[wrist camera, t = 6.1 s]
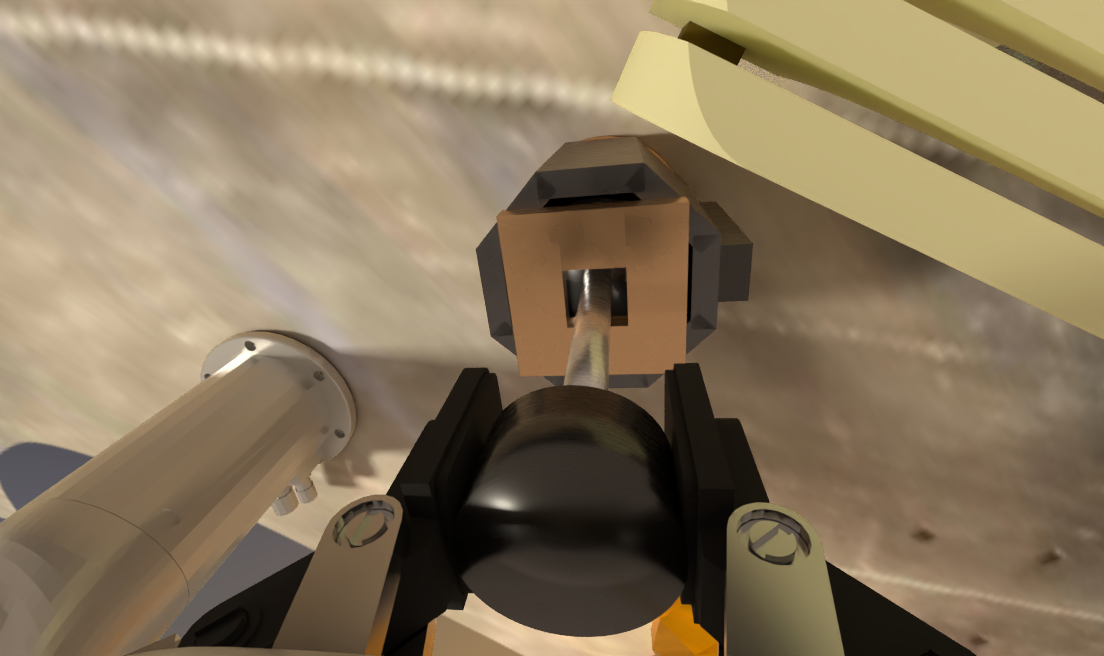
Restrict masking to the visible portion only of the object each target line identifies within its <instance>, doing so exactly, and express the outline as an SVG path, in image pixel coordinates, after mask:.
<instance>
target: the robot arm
mask: <svg viewBox="0 0 1104 656" xmlns="http://www.w3.org/2000/svg"><path fill="white" fill-rule="evenodd" d="M502 411H503V409H502V403H501V398H500V392H499V386H498V380H497V376H496V374H495V373H489V370H488V369H487V368H464V369H463V371H462V373H461V374H460V376H459V378H458V380H457V382H456V383H455V385H454V387H453V389H452V390H451V392H450V394H449V396H448V398H447V399H446V401H445V403H444V405H443V407H442V408H441V410H440V412H439V414H438V416H437V417H436V419H435V420H431V421H429V422H428V423H427V425H426V426H425V428H424V430H423V431H422V433H421V435H420V437H419V438H418V440H417V442H416V443H415V445H414V447H413V449H412V450H411V452H410V454H409V456H408V457H407V459H406V461H405V463H404V464H403V466H402V468H401V469H400V471H399V473H398V475H397V476H396V478H395V480H394V482H393V483H392V485H391V487H390V489H389V490H388V492H387V494H386V495H371V496H367V497H363V498H360V499H358V500H356V501H353V502H351V503H350V504H348V505H347V506H345V507H344V508H342V509H341V510H340V511H339V512H338V513H337V514H336V515H335V516H334V517H333V518H332V519H331V520H330V522H329V524H328V525H327V527H326V529H325V531H324V533H323V535H322V537H321V540H320V542H319V544H318V546H317V549H316V551H314V552H313V553H311V554H309V555H307V556H305V557H304V558H302V559H300V560H298V561H297V562H295V563H293V564H291V565H289V566H287V567H286V568H284V569H282V570H280V571H278V572H276V573H275V574H273V575H271V576H269V577H267V578H266V579H264V580H262V581H260V582H258V583H257V584H255V585H253V586H251V587H249V588H248V589H246V590H244V591H242V592H241V593H239V594H237V595H235V596H233V597H232V598H230V599H228V600H226V601H224V602H222V603H220V604H219V605H217V606H216V607H214V608H213V609H211V610H210V611H208V612H207V613H205V614H204V615H203V616H202V617H201V618H200V619H199V620H198V621H196V622H195V623H194V624H193V625H192V626H191V628H190V629H189V630H188V631H187V633H186V634H185V635H184V636H183V638H182V639H180V637H179V636H178V634H177V633H175V634H173V635H171V636H169V637H166V638H164V639H161V640H159V641H158V639H159V638H160V637H161V636H162V635H163V633H164V632H165V631H166V630H167V629H168V627H169V626H170V625H171V624H172V623H173V621H174V620H175V619H176V618H177V617H178V615H179V614H180V613H181V612H182V610H183V609H184V608H185V607H186V606H187V605H188V603H189V602H190V601H191V600H192V599H193V598H194V596H195V595H196V594H197V593H198V592H199V590H200V589H201V588H202V587H203V586H204V584H205V583H206V582H207V581H208V580H209V578H210V577H211V576H212V575H213V574H214V572H215V571H216V570H217V569H218V568H219V567H220V565H221V564H222V563H223V562H224V561H225V559H226V558H227V557H228V556H229V555H230V553H231V552H232V551H233V550H234V549H235V547H236V546H237V545H238V544H239V543H240V541H241V540H242V539H243V537H245V536H246V534H247V533H248V532H249V531H250V530H251V528H252V527H253V526H254V525H255V524H256V522H257V521H258V520H259V519H260V518H261V516H262V515H263V514H264V513H265V512H266V511H267V509H268V508H269V507H270V506H272V508H273V510H274V512H275V514H276V515H279V516H282V515H287V514H289V513H290V512H292V511H294V510H295V509H296V508H297V506H298V504H299V502H298V499H297V497H296V494H295V492H294V490H293V488H292V485H295V487H296V492H297V494H298V496H299V499H300V501H301V503H309V502H311V501H313V500H314V499H315V498H316V497H317V495H318V494H317V491H316V489H315V487H314V484H313V482H312V481H311V479H310V477H309V476H310V475H311V472H312V471H313V469H314V468H315V467H316V466H317V464H320V463H323V462H326V461H328V460H330V459H332V458H333V457H335V456H337V455H338V454H339V453H340V452H341V451H342V450H343V449H344V447H345V446H346V444H347V443H348V442H349V440H350V439H351V437H352V435H353V432H354V430H355V424H356V410H355V404H354V401H353V398H352V395H351V392H350V390H349V388H348V387H347V385H346V383H345V381H344V380H343V378H342V377H341V376H340V374H339V373H338V372H337V371H336V369H335V368H334V367H333V366H332V365H331V364H330V363H329V362H328V361H327V360H326V359H325V358H324V357H322V356H321V355H320V354H318V353H317V352H315V351H314V350H313V349H311V348H310V347H308V346H306V345H304V344H302V343H300V342H299V341H297V340H294V339H292V338H289V337H286V336H283V335H280V334H275V333H270V332H253V331H251V332H246V333H240V334H237V335H235V336H232V337H230V338H228V339H226V340H225V341H223V342H222V343H220V344H219V345H217V346H216V347H214V348H213V350H212V351H211V352H210V353H209V354H208V355H207V357H206V359H205V361H204V363H203V366H202V370H201V383H200V384H198V385H197V386H195V387H194V388H193V389H191V390H190V391H188V392H187V393H185V394H184V395H183V396H181V397H180V398H178V399H177V400H175V401H174V402H172V403H171V404H170V405H168V406H167V407H165V408H164V409H162V410H161V411H160V412H158V413H157V414H155V415H154V416H152V417H151V418H150V419H148V420H147V421H145V422H144V423H142V424H141V425H140V426H138V427H137V428H135V429H134V430H132V431H131V432H130V433H128V434H127V435H125V436H124V437H122V438H121V439H120V440H118V441H117V442H115V443H114V444H112V445H111V446H110V447H108V448H107V449H105V450H104V451H102V452H101V453H100V454H98V455H97V456H95V457H94V458H92V459H91V460H89V461H88V462H87V463H85V464H84V465H82V466H81V467H79V468H78V469H77V470H75V471H74V472H72V473H71V474H70V475H68V476H67V477H65V478H64V479H62V480H61V481H59V482H58V483H57V484H55V485H54V486H52V487H51V488H49V489H48V490H47V491H45V492H44V493H42V494H41V495H39V496H38V497H37V498H35V499H34V500H32V501H31V502H29V503H28V504H27V505H25V506H24V507H22V508H21V509H19V510H18V511H16V512H15V513H14V514H12V515H11V516H10V517H8V518H7V519H5V520H4V521H3V522H2V523H0V656H432V653H433V646H434V640H435V633H436V627H437V620H436V619H437V617H438V616H439V615H441V614H442V613H444V612H445V611H446V609H452V610H463V609H464V606H465V602H466V599H467V596H468V593H473V592H472V590H471V589H470V588H469V587H468V586H467V584H466V583H465V582H464V580H463V579H462V577H461V576H460V574H459V572H458V570H457V568H456V565H455V562H454V560H453V556H452V550H451V535H452V530H453V526H454V523H455V521H456V518H457V515H458V513H459V510H460V507H461V505H462V502H463V500H464V497H465V494H466V492H467V489H468V486H469V484H470V481H471V479H472V476H473V473H474V471H475V468H476V465H477V463H478V460H479V457H480V455H481V452H482V450H483V447H484V444H485V442H486V439H487V436H488V434H489V431H490V429H491V426H492V425H493V423H494V422H495V420H496V418H497V417H498V416H499V415H500V414H501V412H502ZM665 435H666V437H667V439H668V441H669V444H670V447H671V452H672V459H673V466H674V472H675V479H676V486H677V493H678V500H679V507H680V514H681V521H682V528H683V535H684V539H685V543H686V549H687V556H688V574H687V580H686V583H685V586H684V589H683V590H682V592H681V594H680V601H681V604H684V605H691V606H692V613H693V621H694V624H700V626H701V627H702V628H703V629H704V630H705V631H706V632H707V633H709V634H710V635H711V636H712V637H713V638H714V639H715V640H716V641H717V642H718V645H717V656H976V655H975V654H974V653H972V652H971V651H970V650H968V649H967V648H965V647H963V646H962V645H960V644H959V643H957V642H955V641H954V640H952V639H951V638H949V637H947V636H946V635H944V634H943V633H941V632H939V631H938V630H936V629H935V628H933V627H931V626H930V625H928V624H927V623H925V622H923V621H922V620H920V619H919V618H917V617H915V616H914V615H912V614H911V613H909V612H907V611H906V610H904V609H903V608H901V607H899V606H898V605H896V604H895V603H893V602H891V601H890V600H888V599H887V598H885V597H883V596H882V595H880V594H879V593H877V592H875V591H874V590H872V589H871V588H869V587H867V586H866V585H864V584H863V583H861V582H859V581H858V580H856V579H855V578H853V577H851V576H850V575H848V574H847V573H845V572H843V571H842V570H840V569H839V568H837V567H835V566H834V565H832V564H831V563H829V562H827V561H826V560H825V556H824V551H823V546H822V542H821V540H820V538H819V535H818V533H817V531H816V530H815V529H814V528H813V526H812V525H811V524H810V523H809V522H808V521H807V520H806V519H804V518H803V517H802V516H800V515H799V514H798V513H796V512H794V511H792V510H790V509H788V508H786V507H783V506H780V505H776V504H772V503H770V502H769V499H768V497H767V494H766V491H765V488H764V486H763V483H762V480H761V477H760V475H759V472H758V469H757V466H756V464H755V461H754V458H753V455H752V453H751V450H750V447H749V444H748V442H747V439H746V436H745V433H744V431H743V428H742V425H741V423H740V421H739V419H737V418H714V415H713V412H712V408H711V405H710V401H709V398H708V394H707V391H706V387H705V384H704V381H703V377H702V374H701V370H700V367H699V364H698V363H674V366H673V370H665Z"/></svg>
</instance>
